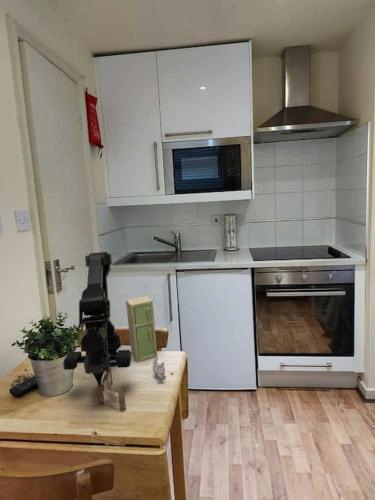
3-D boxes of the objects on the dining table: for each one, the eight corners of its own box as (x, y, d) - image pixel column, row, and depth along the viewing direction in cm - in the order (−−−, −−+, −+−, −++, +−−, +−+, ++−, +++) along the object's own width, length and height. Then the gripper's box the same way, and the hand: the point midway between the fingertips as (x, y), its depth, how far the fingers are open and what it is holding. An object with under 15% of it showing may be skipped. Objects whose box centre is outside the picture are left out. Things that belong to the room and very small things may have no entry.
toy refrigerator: (136, 363, 120) (130, 305, 116) (130, 354, 127) (125, 299, 123) (158, 357, 123) (153, 301, 119) (151, 349, 130) (147, 295, 126)
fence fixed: (98, 406, 98) (96, 387, 97) (102, 402, 100) (100, 383, 98) (123, 414, 94) (121, 395, 93) (127, 410, 95) (125, 391, 94)
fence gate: (107, 382, 108) (106, 367, 107) (113, 382, 108) (111, 367, 107) (101, 400, 99) (99, 384, 98) (106, 399, 99) (104, 383, 98)
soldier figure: (170, 367, 118) (178, 374, 107) (162, 380, 117) (168, 388, 105) (153, 353, 118) (158, 359, 106) (143, 366, 116) (148, 372, 105)
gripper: (55, 350, 92) (59, 404, 95) (127, 348, 94) (129, 401, 97) (66, 333, 103) (70, 381, 106) (130, 331, 104) (132, 378, 107)
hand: (99, 385), depth 104 cm, fingers closed
